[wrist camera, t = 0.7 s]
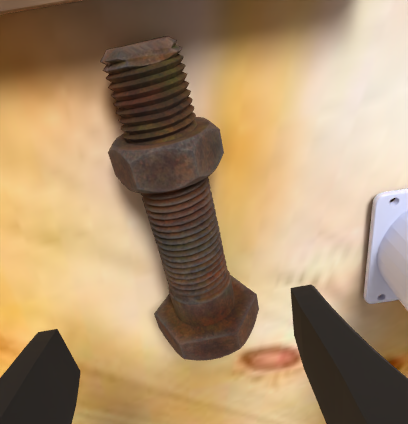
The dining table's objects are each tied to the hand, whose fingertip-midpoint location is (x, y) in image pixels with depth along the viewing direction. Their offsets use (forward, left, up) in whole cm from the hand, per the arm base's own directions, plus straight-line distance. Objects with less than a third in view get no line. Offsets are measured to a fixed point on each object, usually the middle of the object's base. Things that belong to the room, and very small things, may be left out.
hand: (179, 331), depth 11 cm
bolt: (0, 0, -10) cm, 10 cm away
